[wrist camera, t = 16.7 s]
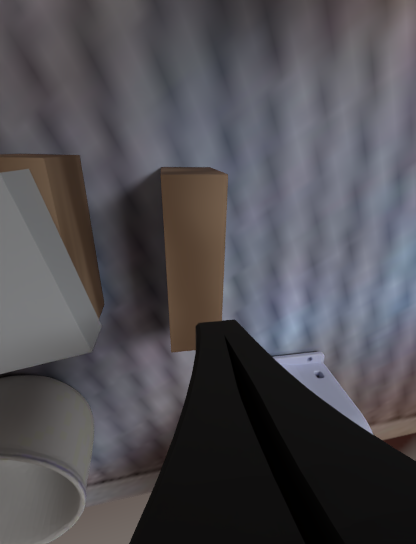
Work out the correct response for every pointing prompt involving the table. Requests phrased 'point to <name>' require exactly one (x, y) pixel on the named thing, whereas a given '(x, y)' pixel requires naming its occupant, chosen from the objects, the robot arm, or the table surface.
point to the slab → (38, 283)
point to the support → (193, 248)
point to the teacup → (42, 458)
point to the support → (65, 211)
